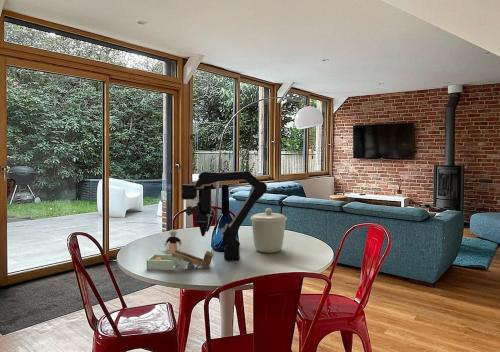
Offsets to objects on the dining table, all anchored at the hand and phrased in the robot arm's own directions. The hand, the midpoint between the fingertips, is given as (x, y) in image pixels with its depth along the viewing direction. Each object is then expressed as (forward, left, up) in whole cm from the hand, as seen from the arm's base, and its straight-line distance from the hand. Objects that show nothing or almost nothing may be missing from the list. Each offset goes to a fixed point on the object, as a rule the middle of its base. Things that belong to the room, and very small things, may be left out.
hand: (205, 233), depth 167 cm
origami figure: (+20, -17, -12) cm, 29 cm away
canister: (-28, -19, -12) cm, 36 cm away
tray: (+16, +11, -12) cm, 23 cm away
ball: (+18, +11, -10) cm, 23 cm away
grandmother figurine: (+16, -5, -12) cm, 21 cm away
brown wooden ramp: (+4, +11, -9) cm, 15 cm away
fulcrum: (+4, +11, -12) cm, 17 cm away
